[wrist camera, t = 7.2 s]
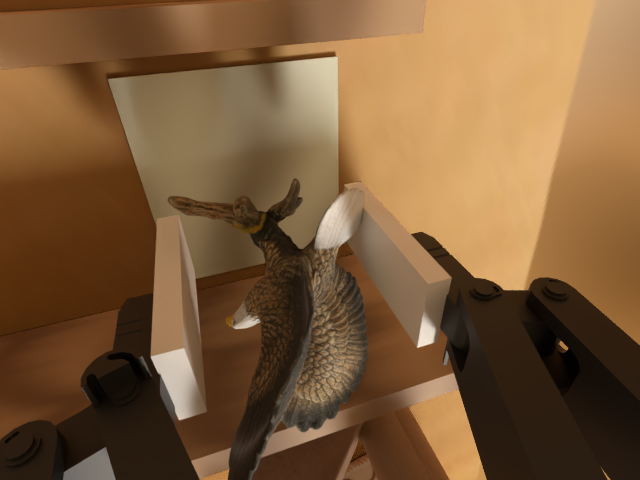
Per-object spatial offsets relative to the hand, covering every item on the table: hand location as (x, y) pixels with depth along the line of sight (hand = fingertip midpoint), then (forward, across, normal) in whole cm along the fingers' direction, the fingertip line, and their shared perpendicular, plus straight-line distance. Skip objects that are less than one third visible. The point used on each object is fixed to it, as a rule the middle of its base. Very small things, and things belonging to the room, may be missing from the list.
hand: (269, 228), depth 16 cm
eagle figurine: (-2, 0, -4) cm, 4 cm away
